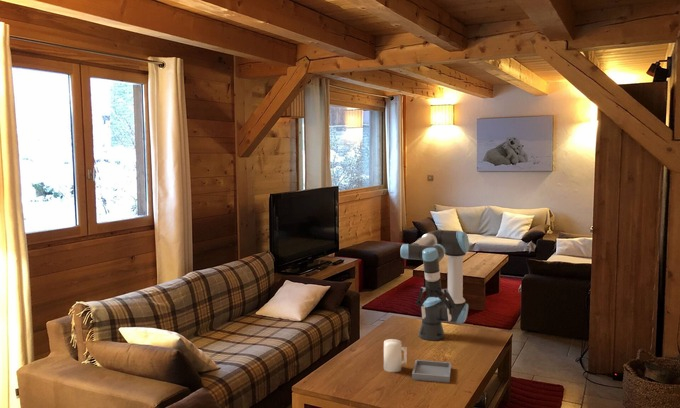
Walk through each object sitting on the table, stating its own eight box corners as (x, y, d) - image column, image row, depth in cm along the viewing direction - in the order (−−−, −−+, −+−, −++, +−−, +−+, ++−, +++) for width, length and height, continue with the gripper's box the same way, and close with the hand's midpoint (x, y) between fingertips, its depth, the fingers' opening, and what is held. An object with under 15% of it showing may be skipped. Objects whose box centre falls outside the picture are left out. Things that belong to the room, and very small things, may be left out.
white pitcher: (385, 364, 293) (385, 338, 292) (407, 366, 291) (407, 340, 289) (382, 371, 285) (382, 344, 283) (405, 373, 282) (405, 346, 281)
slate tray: (415, 365, 292) (415, 359, 292) (450, 368, 288) (451, 362, 288) (411, 379, 275) (411, 373, 275) (449, 382, 271) (449, 376, 270)
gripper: (406, 280, 282) (410, 319, 287) (454, 283, 270) (458, 324, 274) (412, 274, 288) (416, 313, 293) (459, 277, 276) (463, 317, 281)
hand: (436, 318), depth 284 cm, fingers open, 13 cm apart
